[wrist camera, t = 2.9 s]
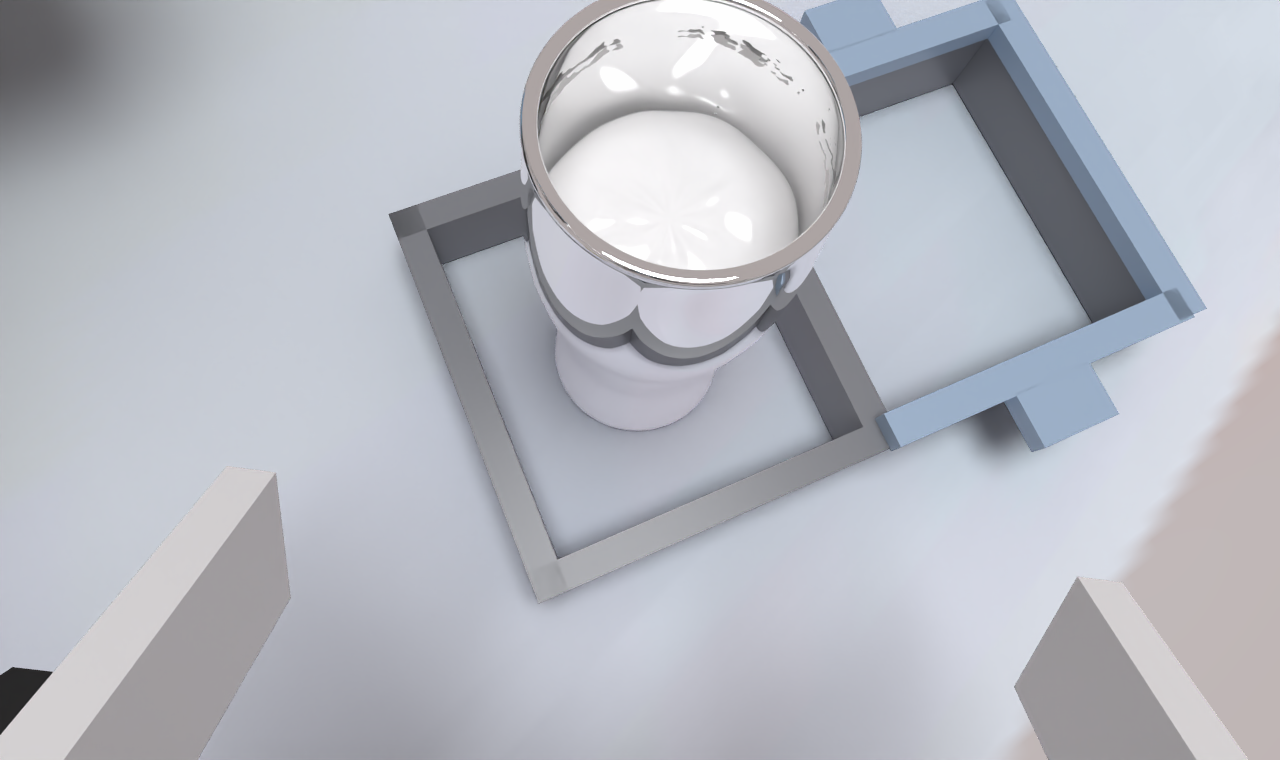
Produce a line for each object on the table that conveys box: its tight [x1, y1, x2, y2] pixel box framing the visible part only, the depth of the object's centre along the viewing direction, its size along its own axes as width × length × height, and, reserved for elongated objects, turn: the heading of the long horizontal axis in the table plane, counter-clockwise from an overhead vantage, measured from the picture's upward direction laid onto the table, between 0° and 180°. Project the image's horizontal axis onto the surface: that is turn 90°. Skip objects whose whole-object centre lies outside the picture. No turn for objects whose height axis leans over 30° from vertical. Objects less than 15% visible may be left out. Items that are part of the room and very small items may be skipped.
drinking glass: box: [519, 0, 862, 431], centre depth 22 cm, size 7×7×15 cm
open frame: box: [389, 0, 1207, 603], centre depth 28 cm, size 18×25×4 cm
